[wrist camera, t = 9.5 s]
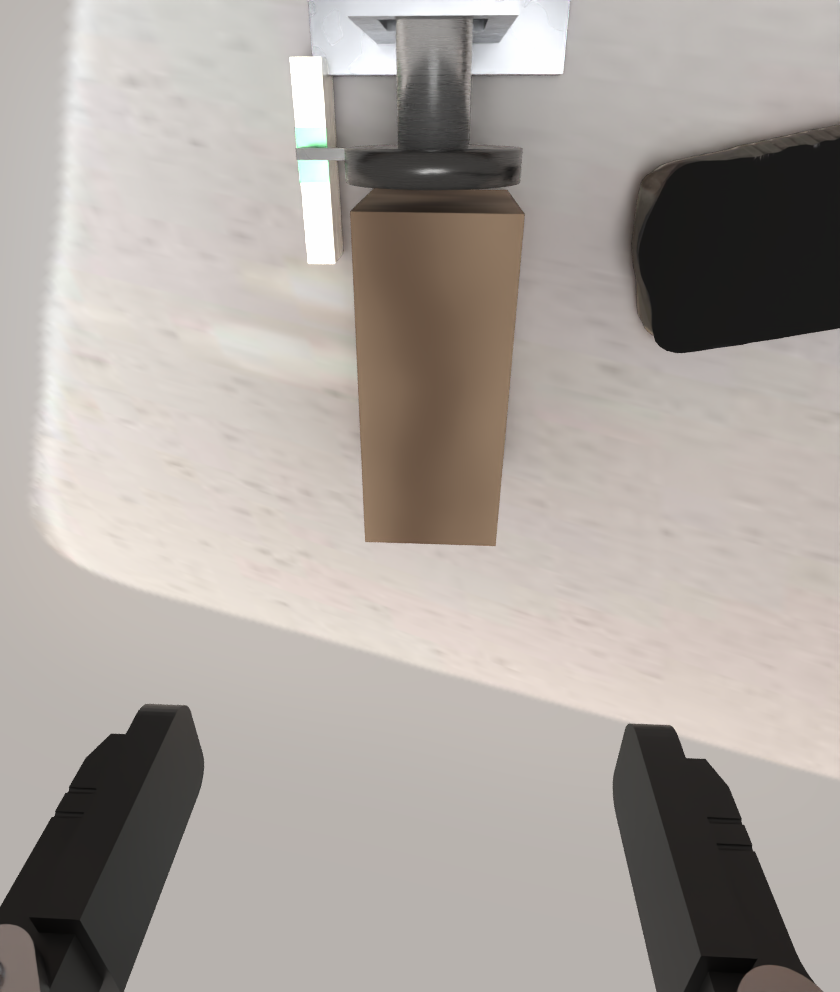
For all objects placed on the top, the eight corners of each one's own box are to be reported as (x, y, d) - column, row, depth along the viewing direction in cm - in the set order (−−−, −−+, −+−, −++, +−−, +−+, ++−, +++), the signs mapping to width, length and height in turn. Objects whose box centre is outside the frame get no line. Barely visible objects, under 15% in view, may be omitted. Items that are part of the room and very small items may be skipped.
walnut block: (506, 189, 28) (524, 214, 21) (486, 462, 36) (495, 546, 29) (374, 187, 28) (350, 211, 22) (381, 459, 36) (365, 541, 29)
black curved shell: (1032, 76, 25) (1113, 71, 22) (978, 287, 30) (1040, 307, 27) (620, 162, 28) (641, 168, 25) (625, 346, 32) (643, 371, 29)
